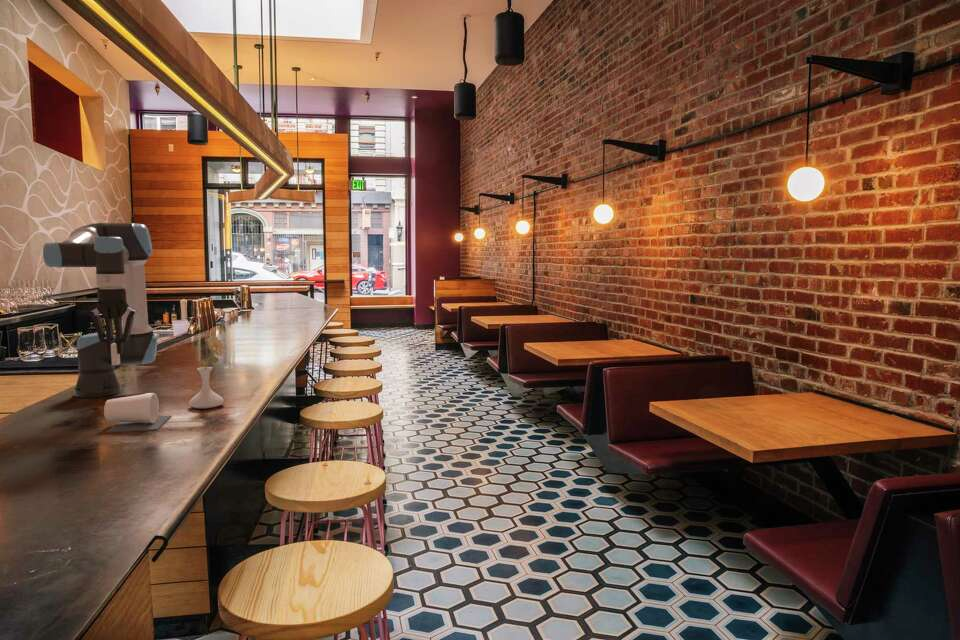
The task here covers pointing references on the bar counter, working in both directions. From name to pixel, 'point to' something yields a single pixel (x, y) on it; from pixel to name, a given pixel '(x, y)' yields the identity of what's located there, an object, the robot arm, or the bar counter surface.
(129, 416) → the foam cup
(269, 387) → the bar counter surface
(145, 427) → the mat
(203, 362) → the flower in vase
